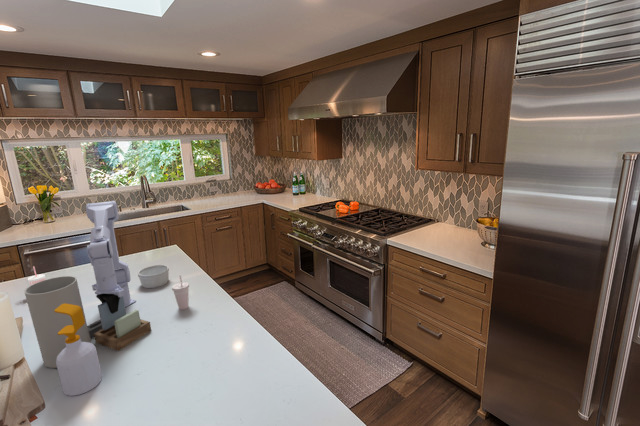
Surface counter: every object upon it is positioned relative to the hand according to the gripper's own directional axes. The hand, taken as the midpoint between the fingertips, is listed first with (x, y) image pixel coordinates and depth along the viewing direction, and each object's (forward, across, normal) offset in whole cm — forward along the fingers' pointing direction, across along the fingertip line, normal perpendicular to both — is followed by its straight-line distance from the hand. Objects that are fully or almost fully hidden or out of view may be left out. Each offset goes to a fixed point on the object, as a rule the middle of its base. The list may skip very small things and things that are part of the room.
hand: (112, 311), depth 116 cm
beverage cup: (+9, -63, +7) cm, 64 cm away
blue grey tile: (+5, 0, 0) cm, 5 cm away
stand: (+9, -8, +1) cm, 12 cm away
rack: (+9, +4, 0) cm, 10 cm away
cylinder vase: (+9, -3, -14) cm, 17 cm away
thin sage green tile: (+9, +7, 0) cm, 12 cm away
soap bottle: (+9, +15, -20) cm, 26 cm away
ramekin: (+9, -23, +35) cm, 43 cm away
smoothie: (+9, +8, +23) cm, 26 cm away
